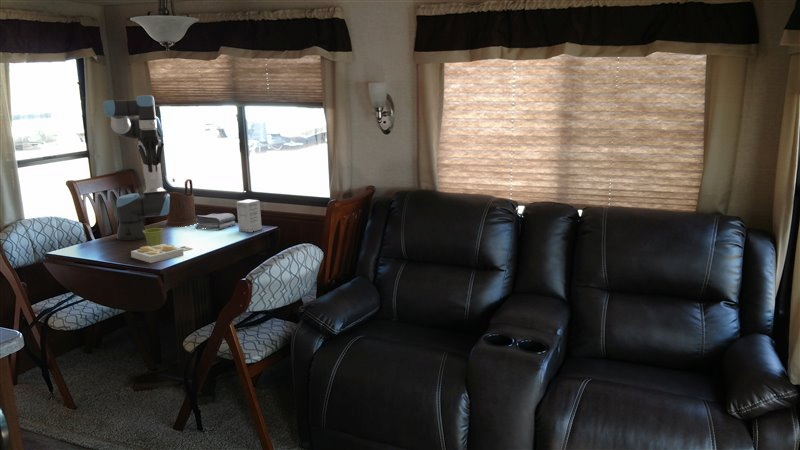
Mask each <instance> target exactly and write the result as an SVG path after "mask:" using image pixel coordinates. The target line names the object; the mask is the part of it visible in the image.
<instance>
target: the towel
mask: <svg viewBox="0 0 800 450" xmlns="http://www.w3.org/2000/svg"><path fill="white" fill-rule="evenodd" d="M195 216H196V222H198V224H196V226H195V227H194V228H195V229H198V228H204V229H203V230H210V229H220V230H222V229H226V228H229V227H232V226H235V225H236V221H235V220H236V216H235V215H234V214H233V213H228V212H224V213H210V214H207V215H206V214H205V215H202V214H201V215H199V214H197V215H195ZM234 224H235V225H234ZM231 225H232V226H231ZM228 226H229V227H228ZM205 228H206V229H205Z"/></svg>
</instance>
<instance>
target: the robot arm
mask: <svg viewBox="0 0 800 450" xmlns="http://www.w3.org/2000/svg"><path fill="white" fill-rule="evenodd" d="M155 104H156V103H155V98H154V96H153V95H137V97H136V99H120V100H119V99H118V100H115V99H114V100H113V99H110V100H104V101H103V106H102V107H103V113H104V116H105V117H108V118H109V117H110V128H111V130H112V131H113V132H114V133H115V134H116V135H117V136H120V137H122V138H124V139H130V140H133V139H134V140H136V139H137V142H138V143H139V144H136V145H135V146H136V148H137V149H138V151H139V155H140V157H141V160H142V164H143V172H144V180H145V190H144V191H143V195H140V194H139V193H138V192H137V193H128V194H124V195H121V196H119V197H117V199H116V209H117V215H118V216H117V217H118V228H117V233H116V239H117V240H119V241H134V240H135V241H136V240H141V239H146V237H145V235H144V232H143V231H144V230H146V229H147V228H146V226H145V224H144V222H143V218H151V217H163V216H167V214H168V213H169V203H170V195H169V194H167V193H168V192H167V190H166V189H164V184H163V175H162V167H161V166H162V165H161V160H162V155H163V148H164V145H165V143H164V142H162V138H164V132H163V129H162V124H161V121H160V118H159V117H158V116H157V115H156V105H155Z"/></svg>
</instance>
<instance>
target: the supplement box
mask: <svg viewBox="0 0 800 450" xmlns="http://www.w3.org/2000/svg"><path fill="white" fill-rule="evenodd" d="M236 211H237V223H238V224H237V225H238V231H239V230H240V231H239V232H244V231H245V232H244V233H253V231H254V232H257V231H261V230H263V229H262V228H263V226H262V216H261V214H262V213H261V202H260V200H258V199H250V198H249V199H243V200H239V201H236Z"/></svg>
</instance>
